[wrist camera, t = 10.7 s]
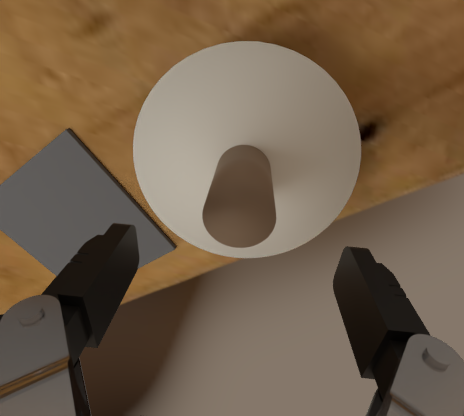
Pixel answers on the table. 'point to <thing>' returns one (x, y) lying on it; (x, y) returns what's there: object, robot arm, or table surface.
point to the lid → (247, 149)
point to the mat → (71, 206)
